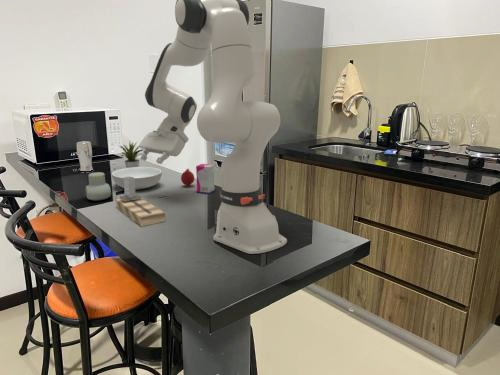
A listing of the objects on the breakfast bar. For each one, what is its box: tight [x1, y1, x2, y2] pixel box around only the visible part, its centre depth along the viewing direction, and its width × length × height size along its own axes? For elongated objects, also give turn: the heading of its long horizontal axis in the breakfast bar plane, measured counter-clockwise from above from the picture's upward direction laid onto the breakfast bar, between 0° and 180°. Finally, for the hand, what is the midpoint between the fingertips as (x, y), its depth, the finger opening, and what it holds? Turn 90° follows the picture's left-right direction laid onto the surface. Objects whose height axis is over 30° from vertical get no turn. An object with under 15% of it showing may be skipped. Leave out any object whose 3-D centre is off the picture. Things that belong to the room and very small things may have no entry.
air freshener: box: [85, 171, 112, 202], centre depth 148 cm, size 11×8×10 cm
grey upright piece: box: [119, 176, 142, 202], centre depth 136 cm, size 4×6×8 cm, turn 127°
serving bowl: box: [111, 166, 163, 191], centre depth 165 cm, size 21×21×7 cm
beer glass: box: [76, 140, 94, 171], centre depth 193 cm, size 7×7×15 cm
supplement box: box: [195, 163, 216, 195], centre depth 158 cm, size 6×6×12 cm
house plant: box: [119, 141, 143, 168], centre depth 189 cm, size 14×14×16 cm
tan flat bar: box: [115, 197, 166, 227], centre depth 131 cm, size 24×8×3 cm, turn 37°
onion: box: [180, 168, 195, 187], centre depth 166 cm, size 6×6×8 cm
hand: (150, 161), depth 141 cm, fingers open, 8 cm apart
